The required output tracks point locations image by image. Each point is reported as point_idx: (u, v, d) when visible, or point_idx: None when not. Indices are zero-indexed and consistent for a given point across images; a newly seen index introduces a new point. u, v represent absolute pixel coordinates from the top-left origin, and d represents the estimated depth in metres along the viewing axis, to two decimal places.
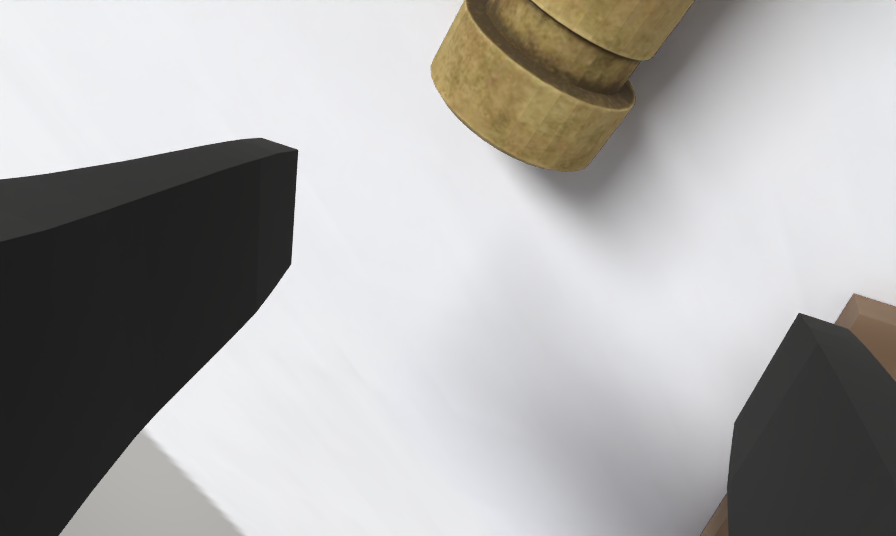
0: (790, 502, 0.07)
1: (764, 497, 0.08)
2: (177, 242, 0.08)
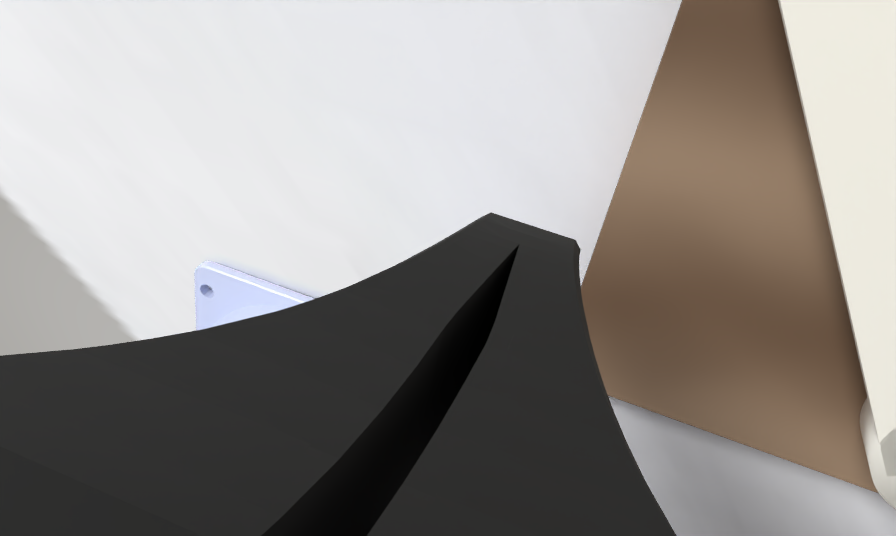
0: None
1: None
2: (462, 345, 0.07)
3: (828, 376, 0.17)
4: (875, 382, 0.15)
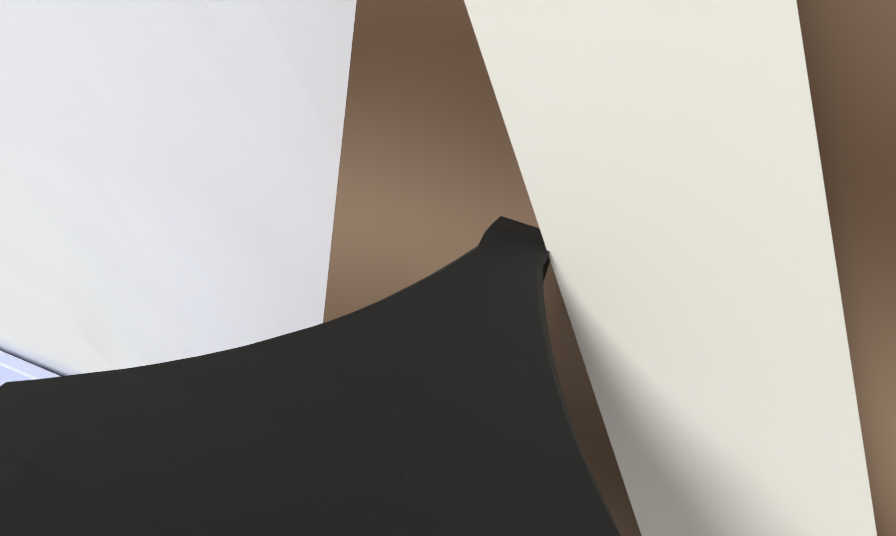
0: None
1: None
2: None
3: (628, 511, 0.13)
4: None
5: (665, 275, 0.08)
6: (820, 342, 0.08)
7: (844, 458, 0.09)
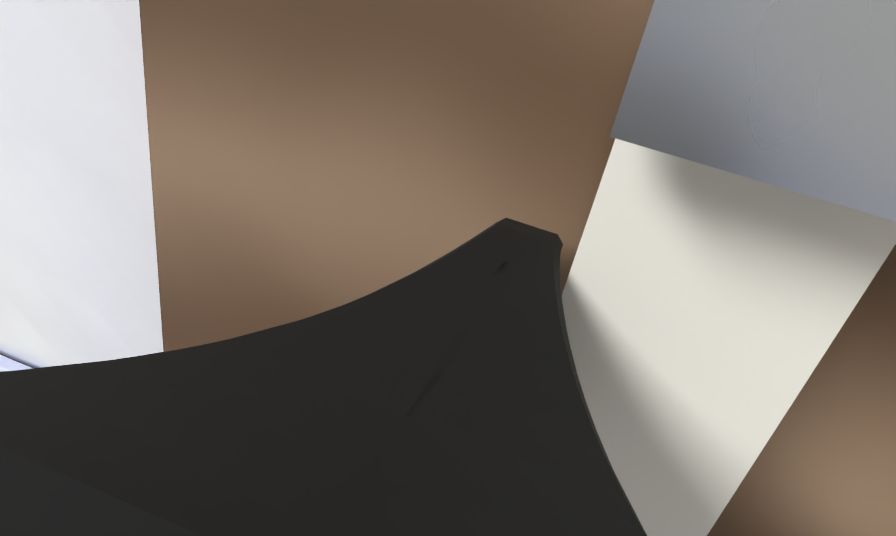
0: None
1: None
2: None
3: None
4: None
5: (727, 191, 0.07)
6: (817, 320, 0.08)
7: (755, 427, 0.09)
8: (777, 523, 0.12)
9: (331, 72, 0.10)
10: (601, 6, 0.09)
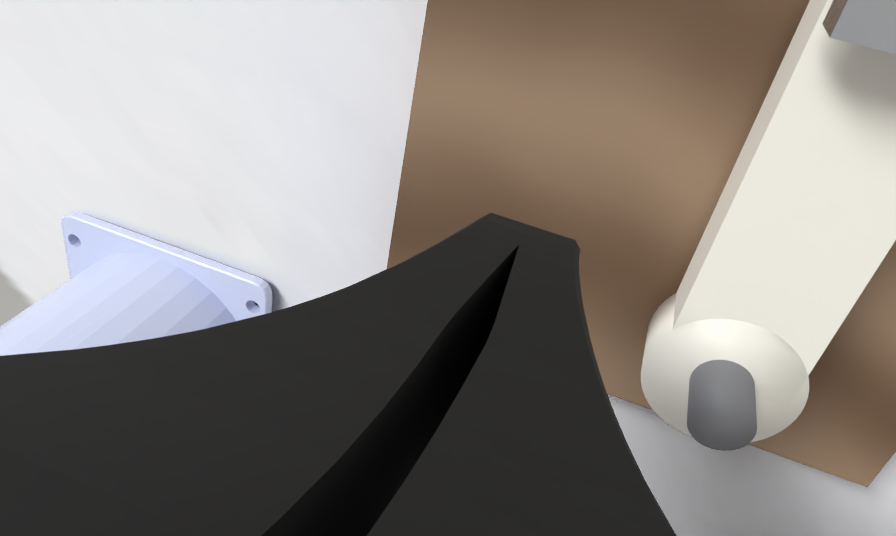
0: None
1: None
2: (461, 345, 0.07)
3: (617, 303, 0.18)
4: (708, 272, 0.15)
5: (872, 84, 0.12)
6: None
7: (876, 248, 0.13)
8: (870, 349, 0.17)
9: (572, 23, 0.15)
10: None
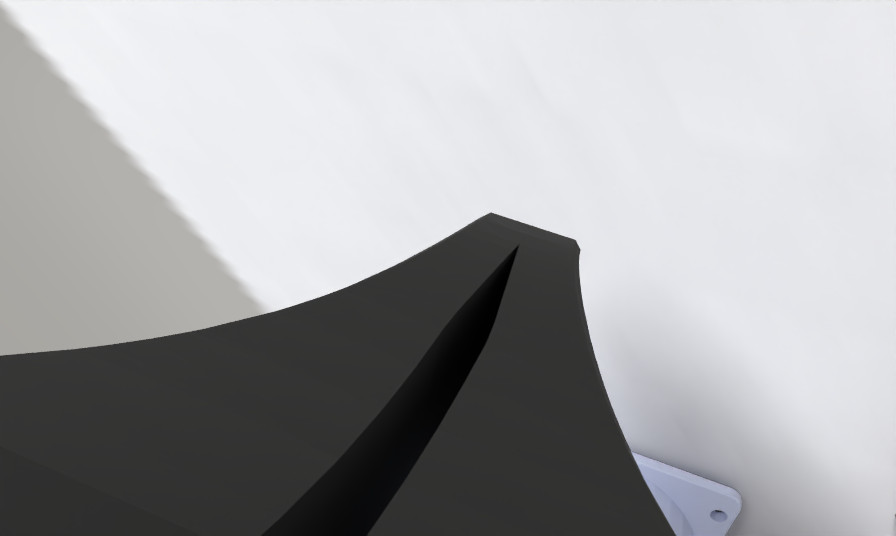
0: None
1: None
2: (461, 345, 0.07)
3: None
4: None
5: None
6: None
7: None
8: None
9: None
10: None
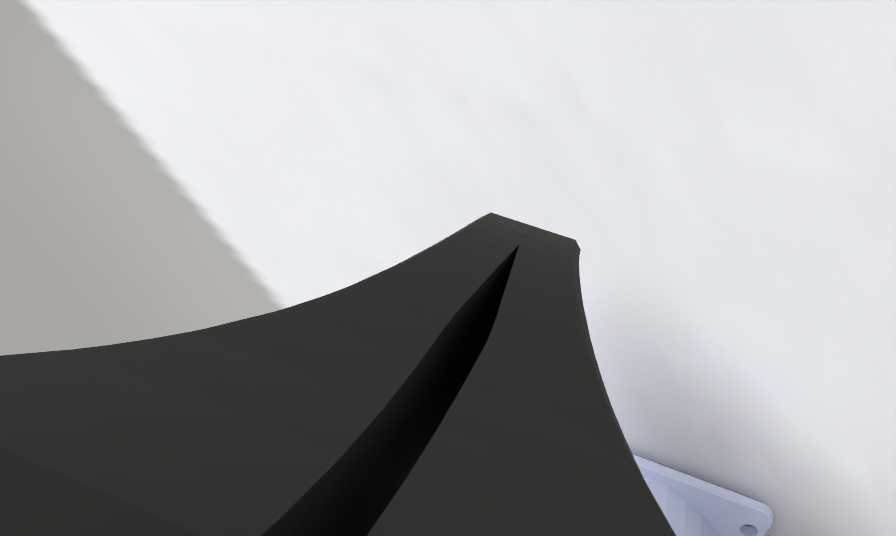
0: None
1: None
2: (461, 345, 0.07)
3: None
4: None
5: None
6: None
7: None
8: None
9: None
10: None
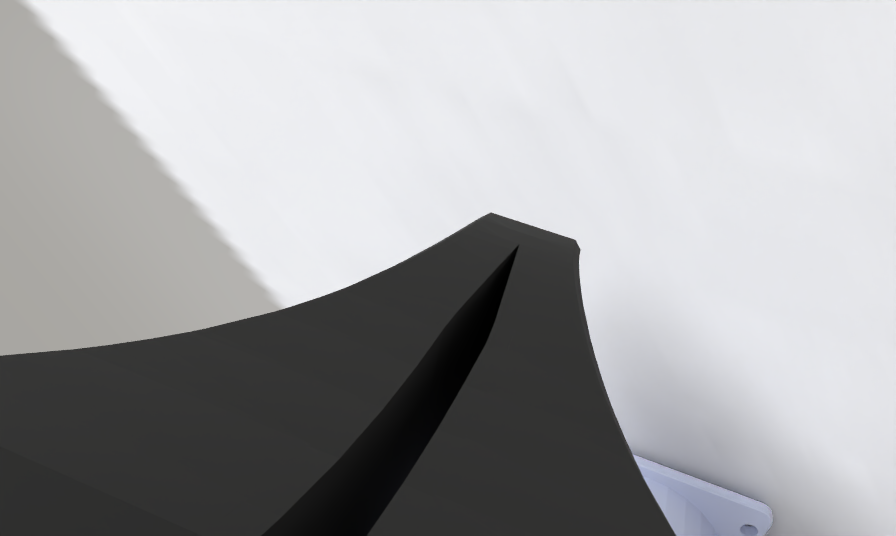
0: None
1: None
2: (461, 345, 0.07)
3: None
4: None
5: None
6: None
7: None
8: None
9: None
10: None
